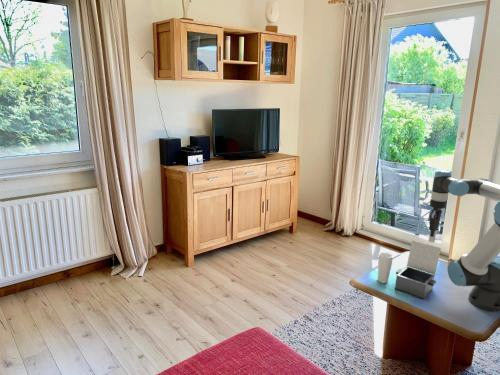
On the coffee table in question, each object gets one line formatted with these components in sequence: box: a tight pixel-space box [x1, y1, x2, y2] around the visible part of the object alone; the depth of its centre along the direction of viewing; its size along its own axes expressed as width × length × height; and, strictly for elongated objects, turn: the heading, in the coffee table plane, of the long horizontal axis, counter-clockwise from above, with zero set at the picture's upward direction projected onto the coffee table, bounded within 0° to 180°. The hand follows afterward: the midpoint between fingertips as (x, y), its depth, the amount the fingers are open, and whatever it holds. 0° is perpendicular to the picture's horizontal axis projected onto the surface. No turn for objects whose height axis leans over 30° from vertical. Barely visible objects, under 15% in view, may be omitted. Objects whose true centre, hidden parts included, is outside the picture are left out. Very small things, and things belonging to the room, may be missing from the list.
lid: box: [406, 240, 442, 275], centre depth 191 cm, size 14×14×3 cm
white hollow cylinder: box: [377, 252, 394, 284], centre depth 193 cm, size 7×7×15 cm
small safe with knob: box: [394, 266, 437, 301], centre depth 186 cm, size 18×14×8 cm
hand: (431, 241), depth 197 cm, fingers closed
